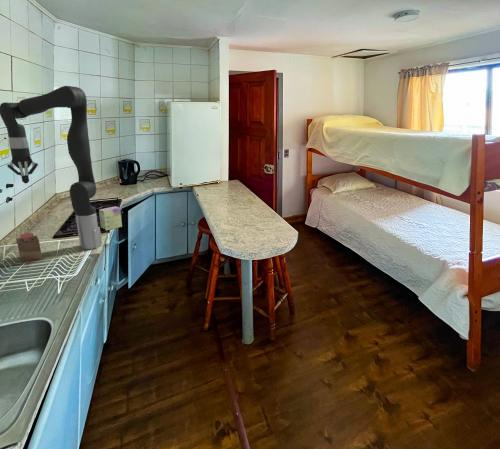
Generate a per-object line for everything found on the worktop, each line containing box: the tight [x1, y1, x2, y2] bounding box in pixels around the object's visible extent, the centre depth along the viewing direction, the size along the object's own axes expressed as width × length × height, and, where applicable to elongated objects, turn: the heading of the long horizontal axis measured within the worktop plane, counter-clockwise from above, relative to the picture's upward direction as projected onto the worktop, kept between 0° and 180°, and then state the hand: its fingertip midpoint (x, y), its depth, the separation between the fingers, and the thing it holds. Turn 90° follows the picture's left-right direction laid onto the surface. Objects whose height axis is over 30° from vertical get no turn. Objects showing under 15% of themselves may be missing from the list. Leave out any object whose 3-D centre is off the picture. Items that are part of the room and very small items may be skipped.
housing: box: [16, 235, 43, 263], centre depth 154 cm, size 8×8×9 cm
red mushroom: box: [19, 232, 35, 241], centre depth 154 cm, size 5×5×10 cm
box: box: [98, 206, 123, 231], centre depth 197 cm, size 10×6×12 cm, turn 141°
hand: (26, 183), depth 166 cm, fingers closed
